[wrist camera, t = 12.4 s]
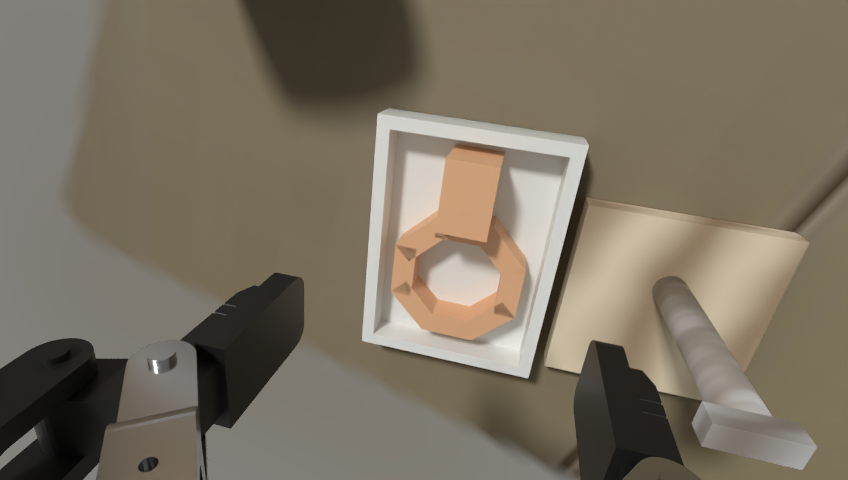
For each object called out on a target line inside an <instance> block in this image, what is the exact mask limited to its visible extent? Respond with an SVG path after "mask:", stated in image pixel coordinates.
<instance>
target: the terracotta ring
mask: <svg viewBox="0 0 848 480" xmlns="http://www.w3.org/2000/svg"><path fill="white" fill-rule="evenodd" d="M504 154H505V152H503V151H497V150H491V149H485V148H479V147H473V146H467V145H461V144H456V145H455V146H454V148H453V149H452V150H451V152H450V153H449V155H448V156H447V157H446V160H445V167H444V174H443V181H442V188H441V195H440V202H439V209H438V210H437V211H436V212H434V213H433V214H431V215H430V216H428V217H427V218H425V219H424V220H422V221H421V222H419V223H418V224H417V225H415V226H414V227H412V228H411V229H409V230H408V231H406V232H405V233H403V234H402V236H401V237H400V239H399V240H398V242H397V243H396V245H395V255H394V264H393V274H392V283H391V292H392V293H393V295H394V296H395V297H396V298H397V300H398V301H399V302H400V303H401V304H402V306H403V307H404V308H405V309H406V311H407V312H408V313H409V314H410V316H411V317H412V318H413V319H414V320H415V322H416V323H417V324H418V325H419V327H420V328H421V329H423V330H427V331H432V332H436V333H441V334H445V335H449V336H454V337H458V338H463V339H467V340H473V339H475V338H477V337H479V336H481V335H483V334H485V333H487V332H489V331H491V330H493V329H495V328H497V327H498V326H500V325H502V324H504V323H506V322H508V321H510V320H512V319H514V318H515V315H516V310H517V306H518V302H519V298H520V294H521V290H522V286H523V281H524V277H525V273H526V257H525V256H524V254H523V253H522V251H521V250H520V249H519V247H518V246H517V245H516V243H515V242H514V240H513V239H512V238H511V236H510V235H509V234H508V232H507V231H506V229H505V228H504V227H503V225H502V224H501V223H500V221H499V220H498V218H497V217H496V216H492V215H493V210H494V205H495V200H496V195H497V189H498V184H499V179H500V174H501V169H502V164H503V159H504ZM443 239H445V240H450V241H455V242H461V243H466V244H471V245H476V246H480V247H481V248H482V249H483V251H484V252H485V253H486V255H487V256H488V257H489V259H490V260H491V261H492V263H493V264H494V265H495V267H496V268H497V269H498V271H499V272H500V273H501V275H500V279H499V284H498V289H497V291H496V292H495V293H493V294H491V295H489V296H487V297H486V298H484V299H482V300H480V301H478V302H476V303H475V304H473V305H471V306H466V305H462V304H457V303H453V302H448V301H443V300H439V299H437V298H436V296H435V295H434V294H433V293H432V291H431V290H430V289H429V288H428V286H427V285H426V284H425V283H424V281H423V280H422V279H421V278H420V276H419V275H418V272H419V264H420V257H421V253H423V252H425V251H426V250H428V249H429V248H431V247H432V246H434V245H435V244H437V243H439V242H440V241H442V240H443Z"/></svg>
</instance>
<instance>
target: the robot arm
mask: <svg viewBox="0 0 848 480" xmlns="http://www.w3.org/2000/svg"><path fill="white" fill-rule="evenodd" d="M303 328H304V282H303V280H302V278H300V277H295V276H290V275H286V274H281V273H274V274H273V275H271V276H270V277H269V278H268V279H267V280H266V281H265V282H263V283H262V284H261V285H260V286H252V287H250V288H247V289H245V290H243V291H240V292H238V293H236V294H235V295H234V296H233V297H231V298H230V299H229V300H228V301H227V302H225V305H222V306H221V307H219V308H218V309H217V310H216V311H215V313H212V314H211V315H210V316H209V317H207V318H206V319H205V320H204V321H203V322H201V323H200V324H199V325H198V326H197V327H195V328H194V329H193V330H192V331H191V332H189V333H188V334H187V335H186V336H185V337H183V338H182V339H181V340H166V341H159V342H156V343H152V344H149V345H147V346H145V347H143V348H141V349H139V350H138V351H136V352H135V353H134V354H132V356H131V357H130V358H129V359H96V357H95V353H94V349H93V346H92V344H91V343H89V342H88V341H86V340H82V339H77V338H68V339H59V340H54V341H50V342H47V343H44V344H42V345H39V346H37V347H35V348H32V349H30V350H29V351H27V352H25V353H24V354H22V355H21V356H19V357H18V358H16V359H15V360H13V361H12V362H10V363H9V364H7V365H6V366H4V367H2V368H1V369H0V456H1V455H2V454H3V453H4V451H5V450H7V448H9V447H10V446H11V445H12V444H14V443H15V442H16V441H17V440H18V439H20V438H21V437H22V436H23V435H25V434H26V433H27V432H28V431H30V430H31V429H32V428H33V427H34V428H35V432H36V435H37V439H36V440H35V441H33V442H32V443H31V444H30V445H29V446H28V447H27V448H25V449H24V450H23V451H22V452H21V453H19V454H18V455H17V456H16V457H15V458H13V459H12V460H11V461H10V462H9V463H8V464H7V465H5V466H4V467H3V468H2V469H1V470H0V480H83V479H84V478H85V477H86V475H88V473H90V472H91V470H92V469H93V468H94V467H95V466H96V465H97V464H98V463H99V466H98V471H97V476H96V480H209V479H208V457H207V439H206V432H207V431H208V430H209V428H210V427H211V426H212V425H213V424H216V425H220V426H223V427H227V428H232V426H233V425H234V424H235V423H236V421H237V420H238V419H239V417H240V416H241V415H242V414H243V412H244V411H245V410H246V409H247V407H248V406H249V405H250V403H251V402H252V401H253V400H254V399H255V397H256V396H257V395H258V394H259V392H260V391H261V390H262V388H263V387H264V386H265V385H266V383H267V382H268V381H269V379H270V378H271V377H272V376H273V375H274V373H275V372H276V371H277V370H278V368H279V367H280V366H281V365H282V363H283V362H284V361H285V360H286V358H287V357H288V356H289V354H290V353H291V352H292V351H293V349H294V348H295V347H296V346H297V344H298V343H299V341H300V338H301V336H302V332H303ZM574 418H575V428H576V437H577V447H578V456H579V466H580V476H581V480H701V479H700V478H699V477H698V476H696V475H695V474H694V473H693V472H692V471H690V470H689V469H687V468H686V467H684V465H683V462H682V459H681V456H680V453H679V450H678V448H677V445H676V442H675V439H674V436H673V433H672V431H671V428H670V425H669V422H668V419H666V414H665V411H664V408H663V405H661V399H660V397H659V394H658V391H657V388H656V386H655V385H654V383H653V382H652V381H651V380H650V379H649V378H648V376H647V375H646V374H645V373H644V372H643V371H642V370H638V369H634V368H630V367H629V363H628V360H627V357H626V353H625V350H624V347H623V346H620V345H615V344H610V343H606V342H601V341H596V340H592V341H591V342H590V344H589V347H588V350H587V353H586V357H585V360H584V363H583V367H582V370H581V373H580V376H579V380H578V383H577V386H576V390H575V396H574Z"/></svg>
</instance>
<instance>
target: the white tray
mask: <svg viewBox="0 0 848 480" xmlns="http://www.w3.org/2000/svg"><path fill="white" fill-rule="evenodd" d="M456 144H461V145H467V146H473V147H479V148H485V149H491V150H497V151H503V152H505V154H504V159H503V164H502V169H501V174H500V179H499V184H498V189H497V195H496V200H495V205H494V210H493V215H492V216H496V217H497V218H498V220H499V221H500V223H501V224H502V225H503V227H504V228H505V229H506V231H507V232H508V234H509V235H510V236H511V238H512V239H513V240H514V242H515V243H516V245H517V246H518V247H519V249H520V250H521V251H522V253H523V254H524V256H525V257H526V273H525V277H524V281H523V286H522V290H521V294H520V298H519V302H518V306H517V310H516V315H515V318H514V319H512V320H510V321H508V322H506V323H504V324H502V325H500V326H498V327H497V328H495V329H493V330H491V331H489V332H487V333H485V334H483V335H481V336H479V337H477V338H475V339H473V340H467V339H463V338H458V337H454V336H449V335H445V334H441V333H436V332H432V331H427V330H423V329H421V328H420V327H419V325H418V324H417V323H416V322H415V320H414V319H413V318H412V317H411V316H410V314H409V313H408V312H407V311H406V309H405V308H404V307H403V306H402V304H401V303H400V302H399V301H398V300H397V298H396V297H395V296H394V295H393V293H392V292H391V283H392V274H393V264H394V255H395V245H396V243H397V242H398V240H399V239H400V237H401V236H402V234H403V233H405V232H406V231H408V230H409V229H411V228H412V227H414V226H415V225H417V224H418V223H419V222H421V221H422V220H424V219H425V218H427V217H428V216H430V215H431V214H433V213H434V212H436V211H437V210H438V209H439V202H440V195H441V188H442V181H443V174H444V167H445V160H446V157H447V156H448V155H449V153H450V152H451V150H452V149H453V148H454V146H455V145H456ZM588 147H589V145H588V143H587V141H586V140H585V138H584V137H579V136H573V135H566V134H559V133H553V132H546V131H539V130H533V129H526V128H519V127H513V126H506V125H499V124H493V123H486V122H479V121H473V120H466V119H459V118H453V117H446V116H439V115H433V114H426V113H419V112H413V111H406V110H399V109H393V108H388V109H386V110H384V111H382V112H380V113H378V117H377V131H376V146H375V160H374V174H373V189H372V203H371V218H370V232H369V247H368V261H367V276H366V290H365V304H364V319H363V333H362V341H365V342H370V343H374V344H379V345H383V346H387V347H392V348H396V349H401V350H405V351H409V352H414V353H418V354H423V355H427V356H431V357H436V358H440V359H445V360H449V361H453V362H458V363H462V364H467V365H471V366H475V367H480V368H484V369H489V370H493V371H497V372H502V373H506V374H511V375H515V376H519V377H524V378H528V377H529V374H530V370H531V366H532V362H533V358H534V354H535V351H536V347H537V343H538V339H539V335H540V331H541V328H542V324H543V320H544V316H545V312H546V308H547V305H548V301H549V297H550V293H551V289H552V285H553V281H554V278H555V274H556V270H557V266H558V262H559V258H560V255H561V251H562V247H563V243H564V239H565V235H566V232H567V228H568V224H569V220H570V216H571V212H572V209H573V205H574V201H575V197H576V193H577V189H578V186H579V182H580V178H581V174H582V170H583V166H584V162H585V159H586V155H587V151H588ZM418 275H419V276H420V278H421V279H422V280H423V281H424V283H425V284H426V285H427V286H428V288H429V289H430V290H431V291H432V293H433V294H434V295H435V296H436V298H437V299H439V300H443V301H448V302H453V303H457V304H462V305H466V306H471V305H473V304H475V303H476V302H478V301H480V300H482V299H484V298H486V297H487V296H489V295H491V294H493V293H495V292H496V291H497V289H498V284H499V279H500V275H501V273H500V272H499V271H498V269H497V268H496V267H495V265H494V264H493V263H492V261H491V260H490V259H489V257H488V256H487V255H486V253H485V252H484V251H483V249H482V248H481V247H480V246H476V245H471V244H466V243H461V242H455V241H450V240H445V239H443V240H442V241H440V242H439V243H437V244H435V245H434V246H432V247H431V248H429V249H428V250H426V251H425V252H423V253H421V257H420V264H419V272H418Z"/></svg>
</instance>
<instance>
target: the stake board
mask: <svg viewBox="0 0 848 480" xmlns="http://www.w3.org/2000/svg"><path fill="white" fill-rule="evenodd" d="M809 243H810V242H808V241H807V240H805V239H804V238H803V237H801V236H800V235H798V234H797V233H795V232H789V231H783V230H777V229H771V228H765V227H759V226H753V225H747V224H741V223H735V222H729V221H723V220H717V219H711V218H706V217H700V216H694V215H688V214H682V213H676V212H670V211H664V210H658V209H652V208H646V207H640V206H634V205H628V204H622V203H616V202H610V201H604V200H599V199H593V198H587V197H586V199H585V202H584V206H583V210H582V214H581V217H580V221H579V225H578V228H577V232H576V236H575V239H574V243H573V247H572V251H571V254H570V258H569V262H568V265H567V269H566V273H565V276H564V280H563V284H562V288H561V291H560V295H559V299H558V302H557V306H556V310H555V313H554V317H553V321H552V325H551V328H550V332H549V336H548V339H547V343H546V347H545V350H544V366H548V367H552V368H557V369H561V370H566V371H570V372H575V373H579V374H580V373H581V370H582V367H583V363H584V360H585V357H586V353H587V350H588V347H589V344H590V342H591V341H592V340H596V341H601V342H606V343H610V344H615V345H620V346H623V347H624V350H625V353H626V357H627V360H628V363H629V367H630V368H634V369H638V370H642V371H643V372H644V373H645V374H646V375H647V376H648V378H649V379H650V380H651V381H652V382H653V383H654V385H655V386H656V388H657V391H660V392H665V393H669V394H674V395H678V396H683V397H687V398H692V399H696V400H701V401H702V402H701V404H700V406H699V408H698V410H697V413H696V415H695V417H694V419H693V421H692V426H693V428H694V431H695V433H696V435H697V438H698V440H699V442H700V445H701V446H702V447H707V448H711V449H715V450H719V451H723V452H728V453H732V454H736V455H740V456H745V457H749V458H753V459H757V460H762V461H766V462H770V463H774V464H779V465H783V466H787V467H791V468H796V469H800V470H803V468H804V467H805V465H806V464H807V462H808V461H809V459H810V457H811V456H812V454H813V453H814V451H815V450H816V448H817V446H816V445H815V444H814V442H813V441H812V439H811V438H810V436H809V435H808V434H807V432H806V431H805V429H804V428H803V427H802V425H801V424H800V423H798V422H794V421H789V420H785V419H780V418H776V417H772V416H771V414H770V412H769V411H768V409H767V408H766V406H765V405H764V403H763V401H762V400H761V398H760V397H759V395H758V394H757V392H756V391H755V389H754V387H753V386H752V384H751V383H750V381H749V380H748V378H747V377H746V375H745V374H744V373H745V371H746V369H747V367H748V365H749V363H750V361H751V359H752V357H753V355H754V353H755V351H756V349H757V347H758V345H759V343H760V341H761V339H762V337H763V335H764V333H765V331H766V329H767V327H768V325H769V323H770V321H771V319H772V317H773V315H774V313H775V311H776V309H777V307H778V305H779V303H780V301H781V299H782V297H783V295H784V293H785V291H786V289H787V287H788V285H789V283H790V281H791V279H792V277H793V275H794V273H795V271H796V269H797V267H798V265H799V263H800V261H801V259H802V257H803V255H804V253H805V251H806V249H807V247H808V245H809Z"/></svg>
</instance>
